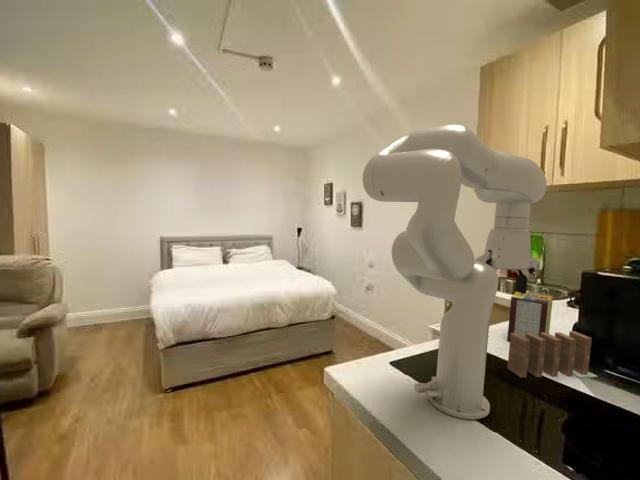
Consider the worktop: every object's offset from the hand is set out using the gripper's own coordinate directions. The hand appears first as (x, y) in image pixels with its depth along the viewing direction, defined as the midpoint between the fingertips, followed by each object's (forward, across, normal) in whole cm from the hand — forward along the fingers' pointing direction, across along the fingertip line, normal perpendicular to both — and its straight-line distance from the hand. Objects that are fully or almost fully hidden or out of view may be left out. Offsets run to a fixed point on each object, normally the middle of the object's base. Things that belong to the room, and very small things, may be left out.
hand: (504, 291), depth 85 cm
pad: (+22, -24, 0) cm, 32 cm away
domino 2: (+22, -11, 0) cm, 24 cm away
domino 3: (+22, -15, 0) cm, 27 cm away
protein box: (+22, -28, -22) cm, 42 cm away
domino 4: (+22, -20, 0) cm, 29 cm away
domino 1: (+22, -6, 0) cm, 23 cm away
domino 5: (+21, -24, 0) cm, 32 cm away
